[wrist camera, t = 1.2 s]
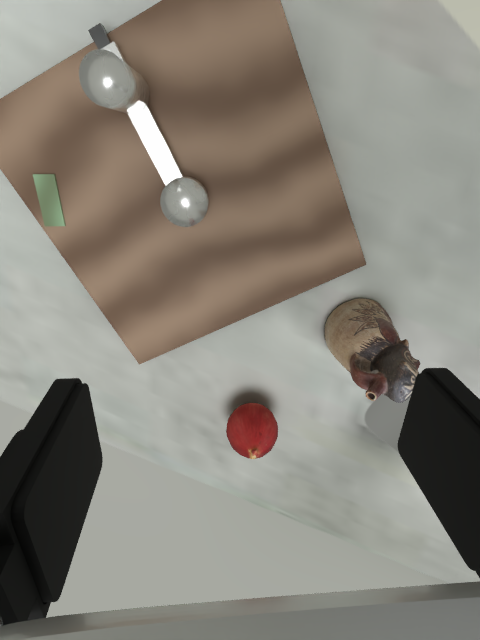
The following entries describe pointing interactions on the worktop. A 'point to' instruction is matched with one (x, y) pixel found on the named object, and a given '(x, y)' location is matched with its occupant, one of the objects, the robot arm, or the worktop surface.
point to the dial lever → (140, 125)
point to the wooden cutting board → (185, 174)
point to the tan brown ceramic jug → (371, 349)
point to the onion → (252, 430)
